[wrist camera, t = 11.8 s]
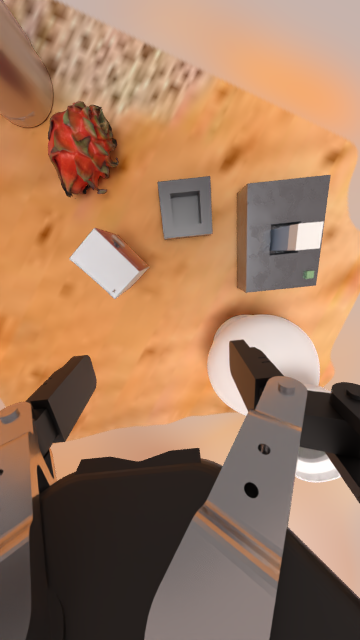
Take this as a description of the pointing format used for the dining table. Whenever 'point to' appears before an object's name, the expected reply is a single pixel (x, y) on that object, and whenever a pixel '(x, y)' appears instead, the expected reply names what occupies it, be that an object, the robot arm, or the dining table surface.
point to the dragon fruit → (81, 147)
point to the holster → (186, 207)
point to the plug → (296, 237)
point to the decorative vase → (289, 358)
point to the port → (271, 213)
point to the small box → (109, 261)
